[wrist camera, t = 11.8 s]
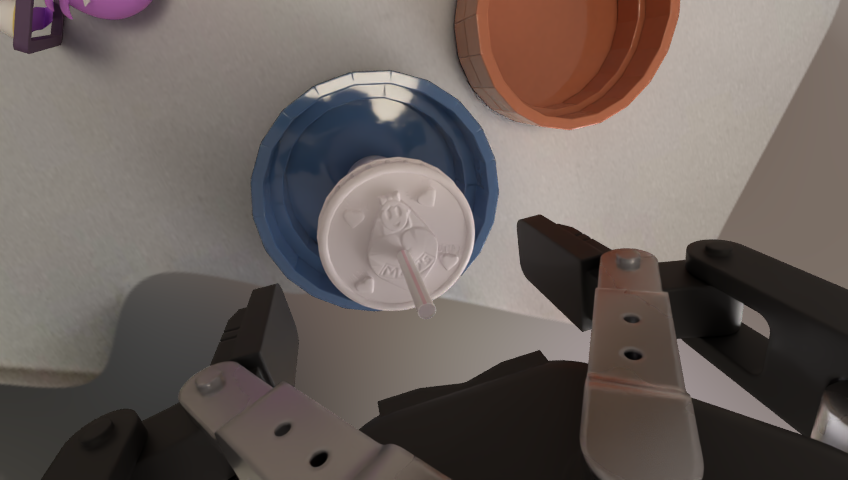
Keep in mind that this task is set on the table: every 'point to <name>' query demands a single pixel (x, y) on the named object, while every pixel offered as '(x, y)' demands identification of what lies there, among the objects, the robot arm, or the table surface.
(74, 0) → the purple framed piece
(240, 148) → the table surface
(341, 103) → the blue bowl
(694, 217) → the table surface
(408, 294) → the smoothie
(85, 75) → the table surface
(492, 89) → the terracotta bowl
